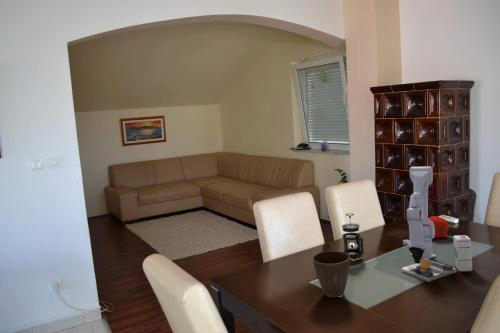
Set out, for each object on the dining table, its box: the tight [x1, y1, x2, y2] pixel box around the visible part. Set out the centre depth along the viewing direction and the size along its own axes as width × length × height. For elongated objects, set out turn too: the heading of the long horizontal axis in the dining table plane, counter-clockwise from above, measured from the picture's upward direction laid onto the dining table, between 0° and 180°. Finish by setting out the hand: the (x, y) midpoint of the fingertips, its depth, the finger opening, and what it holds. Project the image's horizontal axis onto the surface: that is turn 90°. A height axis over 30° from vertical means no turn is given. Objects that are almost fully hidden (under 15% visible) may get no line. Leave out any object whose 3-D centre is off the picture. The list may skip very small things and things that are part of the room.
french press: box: [341, 212, 365, 259], centre depth 207 cm, size 12×9×23 cm
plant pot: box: [312, 250, 351, 296], centre depth 168 cm, size 15×15×16 cm
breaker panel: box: [400, 259, 458, 283], centre depth 182 cm, size 15×17×3 cm
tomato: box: [423, 215, 450, 239], centre depth 227 cm, size 13×13×13 cm
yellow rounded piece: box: [420, 258, 431, 269], centre depth 183 cm, size 3×3×4 cm
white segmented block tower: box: [453, 234, 473, 272], centre depth 181 cm, size 6×6×14 cm
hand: (417, 262), depth 187 cm, fingers closed
